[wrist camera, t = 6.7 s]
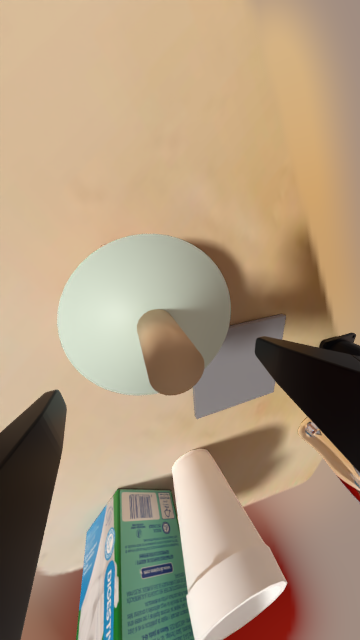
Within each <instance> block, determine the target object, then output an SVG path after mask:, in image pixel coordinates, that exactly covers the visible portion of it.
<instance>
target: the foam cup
mask: <svg viewBox="0 0 360 640" xmlns="http://www.w3.org/2000/svg"><path fill="white" fill-rule="evenodd" d="M172 475H173V483H174V490H175V498H176V506H177V513H178V521H179V529H180V536H181V544H182V552H183V559H184V567H185V575H186V582H187V590H188V594H187V596H186V597H187V605H188V610H189V615H190V620H191V625H192V630H193V635H194V640H223V639H224V638H226V637H227V636H229V635H230V634H232V633H233V632H235V631H237V630H238V629H240V628H241V627H242V626H244V625H245V624H246V623H248V622H249V621H250V620H252V619H253V618H254V617H256V616H257V615H258V614H259V613H260V612H262V611H263V610H264V609H265V608H266V607H267V606H269V605H270V604H271V603H272V602H273V601H274V600H275V599H276V598H277V597H278V596H279V595H280V594H281V593H282V591H283V590H284V588H285V586H286V584H287V582H286V580H285V578H284V576H283V574H282V572H281V570H280V568H279V566H278V564H277V562H276V560H275V558H274V556H273V554H272V552H271V550H270V548H269V547H268V546H267V545H266V544H265V543H264V542H263V540H262V538H261V537H260V535H259V533H258V532H257V530H256V528H255V527H254V525H253V523H252V522H251V520H250V518H249V517H248V515H247V513H246V512H245V510H244V508H243V507H242V505H241V503H240V502H239V500H238V498H237V497H236V495H235V493H234V492H233V490H232V488H231V487H230V485H229V483H228V482H227V480H226V478H225V477H224V475H223V473H222V472H221V470H220V469H219V467H218V465H217V464H216V462H215V460H214V459H213V457H212V456H211V454H210V453H209V452H208V450H206V449H195V450H191V451H189V452H187V453H185V454H183V455H182V456H181V457H180V458H179V459H178V460H177V461H175V463H174V465H173V467H172Z"/></svg>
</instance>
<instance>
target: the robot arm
mask: <svg viewBox="0 0 360 640" xmlns="http://www.w3.org/2000/svg"><path fill="white" fill-rule="evenodd" d="M355 337H356V334H354V333H349V334H346V335H342V336H338V337H335V338H332V339H328V340H325V341H323V342H322V343H321V345H320V348H318V347H313V346H308V345H304V344H299V343H295V342H290V341H285V340H281V339H276V338H272V337H267V336H262V337H258V338H257V339H256V342H255V355H256V357H257V358H258V359H259V361H260V362H261V363H262V365H263V366H264V367H265V369H266V370H267V371H268V373H269V374H270V375H271V376H272V378H273V379H274V380H275V381H276V382H277V384H278V385H279V386H280V387H281V388H282V389H283V390H284V391H285V392H286V393H287V395H288V396H289V397H290V398H291V399H292V400H293V401H294V402H295V403H296V404H297V405H298V406H299V408H300V409H301V410H302V411H303V412H304V413H305V414H306V415H307V416H308V417H309V418H310V420H311V421H312V422H313V423H314V424H315V425H316V426H317V427H318V428H319V429H320V430H321V432H322V433H323V434H324V435H325V436H326V437H327V438H328V439H329V440H330V441H331V442H332V443H333V445H334V446H335V447H336V448H337V449H338V450H339V451H340V452H341V453H342V454H343V455H344V457H345V458H346V459H347V460H348V461H349V462H350V463H351V464H352V465H353V466H354V467H355V468H356V470H357V471H358V472H359V473H360V346H359V345H357V344H354V343H353V342H354V339H355ZM66 412H67V408H66V404H65V402H64V400H63V397H62V395H61V393H60V391H59V390H53V391H49V392H46V393H44V394H43V395H42V396H41V397H40V398H39V399H38V400H36V401H35V402H34V403H33V404H32V405H31V406H30V407H29V408H27V409H26V410H25V411H24V412H23V413H22V414H21V415H20V416H19V417H17V418H16V419H15V420H14V421H13V422H12V423H11V424H10V425H8V426H7V427H6V428H5V429H4V430H3V431H2V432H1V433H0V640H20V639H21V635H22V630H23V626H24V621H25V617H26V612H27V607H28V603H29V599H30V594H31V590H32V585H33V581H34V576H35V572H36V567H37V563H38V558H39V554H40V549H41V545H42V540H43V536H44V531H45V527H46V522H47V518H48V513H49V509H50V504H51V500H52V495H53V491H54V486H55V482H56V477H57V473H58V468H59V464H60V459H61V454H62V448H63V440H64V430H65V421H66Z"/></svg>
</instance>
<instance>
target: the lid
mask: <svg viewBox="0 0 360 640" xmlns="http://www.w3.org/2000/svg"><path fill="white" fill-rule="evenodd" d="M230 317H231V301H230V295H229V291H228V287H227V284H226V282H225V279H224V277H223V275H222V273H221V272H220V270H219V269H218V267H217V266H216V264H215V263H214V262H213V261H212V260H211V259H210V257H208V256H207V255H206V254H205V253H204V252H203V251H202V250H200V249H198V248H197V247H195V246H194V245H192V244H190V243H188V242H186V241H184V240H182V239H178V238H175V237H172V236H167V235H160V234H139V235H132V236H127V237H124V238H121V239H118V240H115V241H113V242H110V243H108V244H106V245H104V246H102V247H101V248H99V249H98V250H96V251H95V252H93V253H92V254H90V255H89V256H88V257H87V258H86V259H85V260H84V261H83V262H82V263H80V265H79V266H78V267H77V268H76V270H75V271H74V272H73V273H72V275H71V276H70V278H69V280H68V282H67V283H66V285H65V287H64V290H63V293H62V295H61V298H60V302H59V307H58V317H57V325H58V333H59V338H60V341H61V344H62V347H63V349H64V351H65V353H66V355H67V357H68V359H69V360H70V362H71V363H72V364H73V366H74V367H75V368H76V369H77V370H78V371H79V372H80V373H81V374H82V375H83V376H84V377H86V378H87V379H88V380H89V381H91V382H93V383H94V384H96V385H98V386H100V387H102V388H104V389H106V390H109V391H113V392H116V393H120V394H126V395H151V394H157V393H160V394H164V395H177V394H181V393H184V392H186V391H188V390H189V389H191V388H192V387H193V386H195V385H196V384H197V382H198V381H199V380H200V378H201V377H202V375H203V372H204V369H205V368H206V367H207V366H208V365H209V364H210V362H211V361H212V360H213V359H214V357H215V356H216V355H217V353H218V352H219V350H220V348H221V347H222V344H223V342H224V340H225V338H226V335H227V332H228V328H229V324H230Z"/></svg>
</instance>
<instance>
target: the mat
mask: <svg viewBox="0 0 360 640" xmlns="http://www.w3.org/2000/svg"><path fill="white" fill-rule="evenodd" d="M285 319H286V315H283V314H280V315H275V316H271V317H266V318H262V319H258V320H253V321H249V322H244V323H240V324H236V325H231V326H229V328H228V332H227V335H226V338H225V340H224V342H223V344H222V347H221V348H220V350H219V352H218V353H217V355H216V356H215V357H214V359H213V360H212V361H211V362H210V364H209V365H208V366H207V367H206V368H205V369H204V372H203V375H202V377H201V378H200V380H199V381H198V382H197V384H196V385H195V386H193V395H194V410H195V417H196V419H198V418H201V417H204V416H207V415H210V414H213V413H215V412H218V411H221V410H224V409H227V408H230V407H232V406H235V405H238V404H241V403H244V402H247V401H249V400H252V399H255V398H258V397H261V396H264V395H267V394H269V393H272V392H274V386H275V380H274V379H273V378H272V376H271V375H270V374H269V373H268V371H267V370H266V369H265V367H264V366H263V365H262V363H261V362H260V361H259V359H258V358H257V357H256V355H255V342H256V339H257V338H258V337H262V336H267V337H272V338H276V339H281V340H282V337H283V331H284V325H285Z"/></svg>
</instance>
